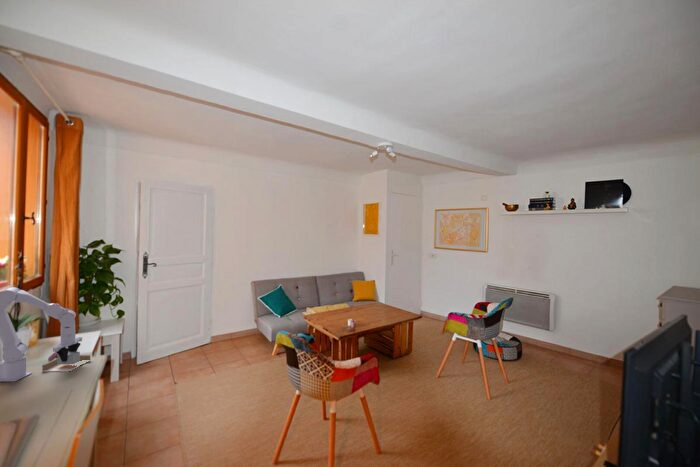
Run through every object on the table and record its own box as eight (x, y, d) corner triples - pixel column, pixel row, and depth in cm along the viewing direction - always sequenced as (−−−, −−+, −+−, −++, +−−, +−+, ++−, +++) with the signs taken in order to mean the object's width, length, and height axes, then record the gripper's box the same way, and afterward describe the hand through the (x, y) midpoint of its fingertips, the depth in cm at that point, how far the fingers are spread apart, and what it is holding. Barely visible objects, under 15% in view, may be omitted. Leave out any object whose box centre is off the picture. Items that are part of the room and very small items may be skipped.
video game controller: (52, 364, 163) (56, 353, 162) (46, 360, 163) (50, 349, 163) (72, 356, 172) (76, 346, 172) (66, 352, 173) (70, 342, 172)
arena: (42, 371, 152) (42, 364, 151) (64, 361, 164) (64, 354, 163) (70, 371, 152) (70, 365, 152) (90, 361, 164) (90, 354, 164)
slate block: (73, 364, 155) (72, 354, 155) (57, 364, 155) (57, 354, 154) (79, 361, 159) (79, 351, 159) (64, 360, 159) (64, 351, 158)
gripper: (62, 339, 149) (63, 366, 149) (87, 329, 164) (88, 353, 164) (48, 339, 149) (48, 366, 149) (74, 329, 163) (75, 353, 164)
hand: (68, 359), depth 157 cm, fingers closed on slate block, 4 cm apart
